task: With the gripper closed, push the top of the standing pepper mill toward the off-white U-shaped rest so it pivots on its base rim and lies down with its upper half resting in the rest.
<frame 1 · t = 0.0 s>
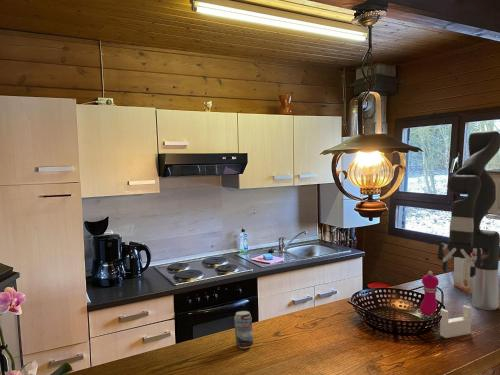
hand: (458, 274, 137), 22 cm above the table, tool pointing down, fingers open, 8 cm apart
pepper mill: (429, 320, 151), on the table
cracker box: (466, 290, 185), on the table
u rest: (455, 334, 139), on the table
beverage can: (244, 346, 134), on the table
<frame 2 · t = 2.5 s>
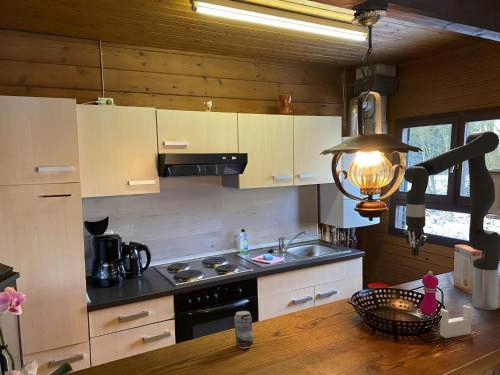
hand: (414, 255, 158), 24 cm above the table, tool pointing down, fingers closed
nothing on the table moved.
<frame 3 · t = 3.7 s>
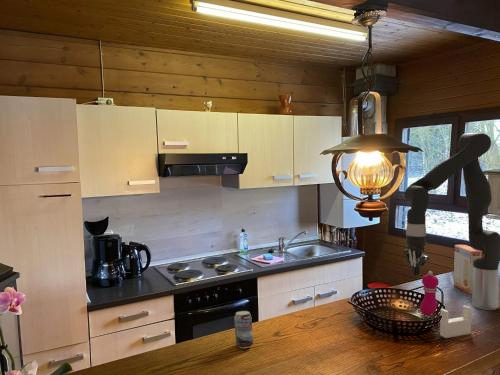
hand: (415, 274, 158), 16 cm above the table, tool pointing down, fingers closed
nothing on the table moved.
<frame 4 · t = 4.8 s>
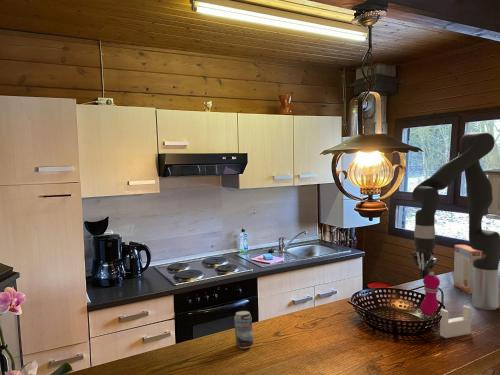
hand: (423, 278, 153), 16 cm above the table, tool pointing down, fingers closed
pepper mill: (429, 320, 151), on the table, touching gripper
everything else where it was.
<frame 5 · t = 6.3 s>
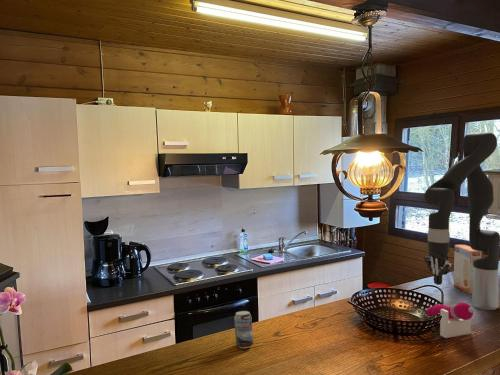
hand: (437, 284, 146), 16 cm above the table, tool pointing down, fingers closed
pepper mill: (432, 315, 150), point 3 cm above the table, touching u rest
everything else where it was.
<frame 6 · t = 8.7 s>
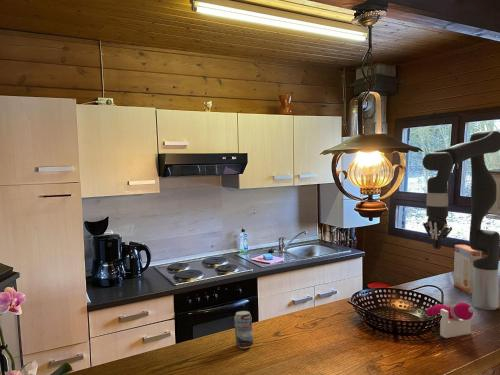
hand: (436, 248, 147), 29 cm above the table, tool pointing down, fingers closed
nothing on the table moved.
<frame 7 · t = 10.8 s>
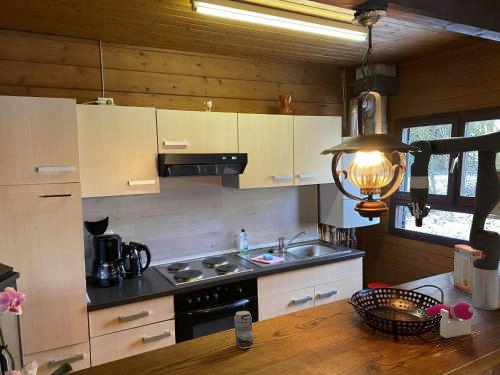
hand: (418, 226, 164), 35 cm above the table, tool pointing down, fingers closed
nothing on the table moved.
at the end: pepper mill tilted 64°; pepper mill touching table, u rest; pepper mill inside the target area on the table beside the u rest (0.1 cm from its centre), point 2.7 cm above the table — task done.
